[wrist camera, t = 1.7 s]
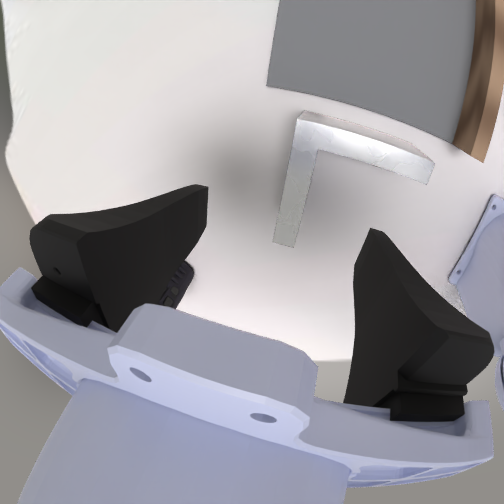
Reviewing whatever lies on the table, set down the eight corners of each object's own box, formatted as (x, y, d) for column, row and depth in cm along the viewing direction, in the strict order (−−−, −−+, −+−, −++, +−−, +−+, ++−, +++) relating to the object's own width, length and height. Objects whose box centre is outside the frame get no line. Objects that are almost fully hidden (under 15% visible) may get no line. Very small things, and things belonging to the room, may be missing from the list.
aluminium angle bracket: (304, 110, 17) (297, 118, 13) (411, 143, 16) (434, 163, 12) (284, 208, 22) (272, 242, 18) (377, 234, 21) (386, 272, 17)
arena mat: (461, 148, 14) (464, 150, 14) (267, 85, 16) (266, 85, 16) (483, -32, 3) (485, -33, 3) (297, -94, 5) (296, -97, 5)
